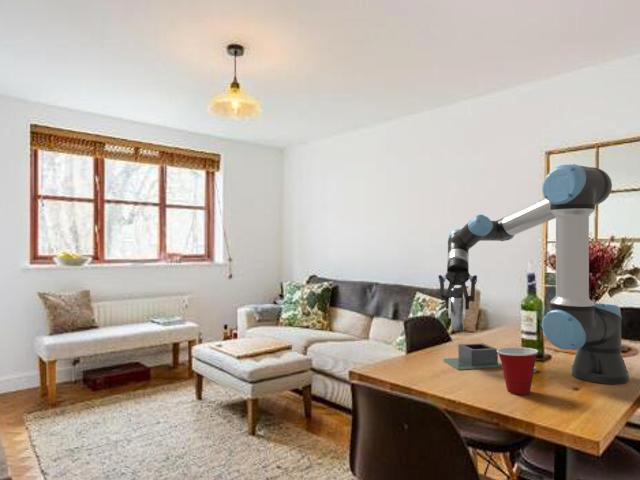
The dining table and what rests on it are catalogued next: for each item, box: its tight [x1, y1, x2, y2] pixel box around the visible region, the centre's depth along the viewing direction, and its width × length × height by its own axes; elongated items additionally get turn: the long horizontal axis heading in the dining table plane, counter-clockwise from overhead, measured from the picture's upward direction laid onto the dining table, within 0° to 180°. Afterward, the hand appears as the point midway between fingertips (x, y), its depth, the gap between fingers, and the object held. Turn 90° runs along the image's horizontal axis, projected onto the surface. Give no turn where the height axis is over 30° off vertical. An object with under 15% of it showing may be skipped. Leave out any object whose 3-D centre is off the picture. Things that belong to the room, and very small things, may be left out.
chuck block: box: [443, 343, 502, 371], centre depth 157 cm, size 11×16×6 cm
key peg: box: [450, 287, 465, 331], centre depth 156 cm, size 4×4×14 cm
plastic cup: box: [496, 346, 539, 396], centre depth 127 cm, size 11×11×12 cm
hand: (456, 315), depth 152 cm, fingers closed on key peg, 4 cm apart
